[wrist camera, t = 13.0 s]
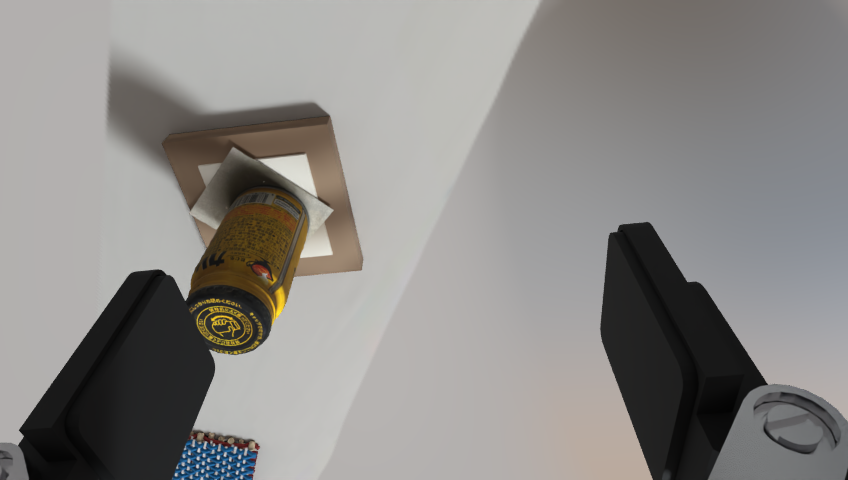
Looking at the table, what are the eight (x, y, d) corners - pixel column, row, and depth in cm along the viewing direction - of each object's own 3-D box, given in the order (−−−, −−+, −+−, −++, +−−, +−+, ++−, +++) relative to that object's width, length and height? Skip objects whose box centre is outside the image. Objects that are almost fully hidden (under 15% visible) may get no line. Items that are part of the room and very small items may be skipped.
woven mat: (164, 420, 60) (157, 436, 58) (262, 436, 62) (257, 452, 60) (163, 472, 66) (156, 488, 64) (252, 486, 67) (248, 502, 66)
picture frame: (169, 134, 40) (160, 144, 39) (330, 115, 39) (326, 125, 38) (227, 272, 47) (221, 285, 46) (363, 259, 47) (361, 271, 45)
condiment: (285, 267, 45) (246, 381, 35) (189, 212, 42) (117, 320, 32) (334, 208, 42) (306, 316, 32) (234, 144, 39) (169, 241, 29)
